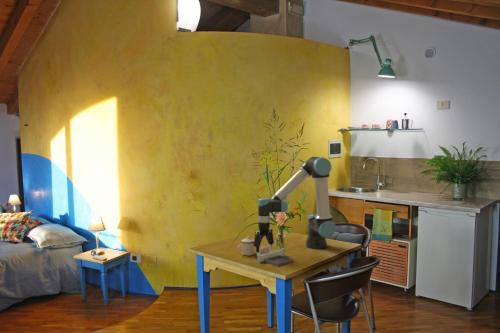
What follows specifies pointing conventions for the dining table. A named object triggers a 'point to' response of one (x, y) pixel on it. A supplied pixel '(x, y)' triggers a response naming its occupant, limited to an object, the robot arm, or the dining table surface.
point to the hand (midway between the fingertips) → (263, 255)
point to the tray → (278, 260)
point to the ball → (264, 250)
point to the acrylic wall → (270, 255)
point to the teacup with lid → (247, 246)
